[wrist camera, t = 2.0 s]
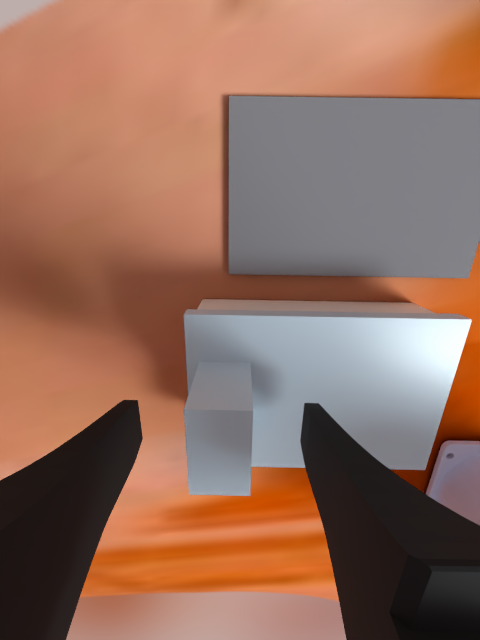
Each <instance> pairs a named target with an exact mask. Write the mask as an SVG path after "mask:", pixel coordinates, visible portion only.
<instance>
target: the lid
mask: <svg viewBox="0 0 480 640" xmlns="http://www.w3.org/2000/svg"><path fill="white" fill-rule="evenodd" d="M471 321H472V319H469V318H467V317H465V316H462V315H460V314H436V313H378V312H321V311H264V310H206V309H187V310H186V312H185V313H184V330H185V348H186V367H187V385H188V398H187V401H186V404H185V408H184V420H185V436H186V452H187V468H188V484H189V495H234V496H250V487H251V467H293V468H305V464H304V459H303V454H302V448H301V443H300V438H301V429H302V420H303V411H304V403H319V404H320V405H321V406H322V407H323V408H324V409H325V410H326V412H327V413H328V414H329V415H330V416H331V417H332V418H333V419H334V420H335V421H336V422H337V423H338V424H339V425H340V426H341V427H342V428H343V429H344V430H345V431H346V432H347V433H348V434H349V435H350V436H351V437H352V438H353V439H354V440H355V441H356V442H357V443H358V444H360V445H361V446H362V447H363V448H364V449H365V450H366V451H368V452H369V453H370V454H371V455H372V456H373V457H375V458H376V459H377V460H378V461H379V462H381V463H382V464H383V465H385V466H386V467H387V468H389V469H395V470H425V469H426V466H427V463H428V460H429V456H430V453H431V450H432V447H433V443H434V440H435V437H436V434H437V431H438V427H439V424H440V421H441V418H442V414H443V411H444V408H445V405H446V402H447V398H448V395H449V392H450V389H451V385H452V382H453V379H454V376H455V373H456V369H457V366H458V363H459V360H460V356H461V353H462V350H463V347H464V344H465V340H466V337H467V334H468V331H469V327H470V324H471Z"/></svg>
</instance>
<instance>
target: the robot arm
mask: <svg viewBox="0 0 480 640" xmlns="http://www.w3.org/2000/svg"><path fill="white" fill-rule="evenodd" d="M142 439H143V438H142V430H141V422H140V414H139V407H138V400H123V401H122V402H120V403H119V404H117V405H116V406H115V407H113V408H112V409H111V410H109V411H108V412H107V413H105V414H104V415H103V416H102V417H100V418H99V419H98V420H96V421H95V422H94V423H92V424H91V425H90V426H88V427H87V428H85V429H84V430H83V431H81V432H80V433H78V434H77V435H76V436H74V437H73V438H71V439H70V440H68V441H67V442H65V443H64V444H63V445H61V446H60V447H58V448H57V449H55V450H54V451H52V452H50V453H49V454H47V455H46V456H44V457H42V458H41V459H39V460H37V461H35V462H34V463H32V464H30V465H29V466H27V467H25V468H23V469H21V470H20V471H18V472H16V473H14V474H12V475H10V476H8V477H6V478H4V479H2V480H1V481H0V640H66V637H67V634H68V631H69V628H70V625H71V622H72V619H73V616H74V613H75V610H76V606H77V603H78V600H79V597H80V594H81V591H82V588H83V585H84V583H85V580H86V577H87V574H88V571H89V568H90V565H91V563H92V560H93V557H94V554H95V551H96V549H97V546H98V543H99V541H100V538H101V535H102V533H103V530H104V528H105V525H106V523H107V521H108V518H109V516H110V514H111V512H112V510H113V507H114V505H115V503H116V501H117V499H118V497H119V495H120V493H121V491H122V488H123V486H124V484H125V482H126V480H127V478H128V476H129V474H130V471H131V469H132V467H133V465H134V463H135V460H136V457H137V454H138V451H139V448H140V445H141V442H142ZM300 443H301V448H302V454H303V459H304V464H305V468H306V471H307V474H308V478H309V481H310V484H311V487H312V491H313V494H314V497H315V500H316V503H317V507H318V510H319V513H320V516H321V520H322V523H323V527H324V531H325V535H326V539H327V544H328V548H329V553H330V558H331V562H332V567H333V572H334V577H335V582H336V587H337V592H338V597H339V602H340V607H341V612H342V618H343V623H344V628H345V634H346V638H347V640H480V441H451V440H450V441H446V442H444V443H443V444H442V445H441V448H440V451H439V454H438V457H437V460H436V463H435V466H434V470H433V473H432V476H431V479H430V482H429V485H428V488H427V491H426V494H424V493H423V492H421V491H420V490H418V489H417V488H415V487H414V486H412V485H411V484H409V483H408V482H406V481H405V480H403V479H402V478H401V477H399V476H398V475H396V474H395V473H394V472H392V471H391V470H390V469H389V468H387V467H386V466H385V465H383V464H382V463H381V462H379V461H378V460H377V459H376V458H375V457H373V456H372V455H371V454H370V453H369V452H368V451H366V450H365V449H364V448H363V447H362V446H361V445H360V444H358V443H357V442H356V441H355V440H354V439H353V438H352V437H351V436H350V435H349V434H348V433H347V432H346V431H345V430H344V429H343V428H342V427H341V426H340V425H339V424H338V423H337V422H336V421H335V420H334V419H333V418H332V417H331V416H330V415H329V414H328V413H327V412H326V410H325V409H324V408H323V407H322V406H321V405H320V404H319V403H304V411H303V420H302V429H301V438H300Z"/></svg>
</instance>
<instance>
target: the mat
mask: <svg viewBox="0 0 480 640" xmlns="http://www.w3.org/2000/svg"><path fill="white" fill-rule="evenodd" d="M479 240H480V99H413V98H344V97H275V96H229V274H249V275H308V276H367V277H426V278H468V277H469V274H470V271H471V267H472V264H473V260H474V257H475V253H476V250H477V246H478V243H479Z"/></svg>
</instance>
